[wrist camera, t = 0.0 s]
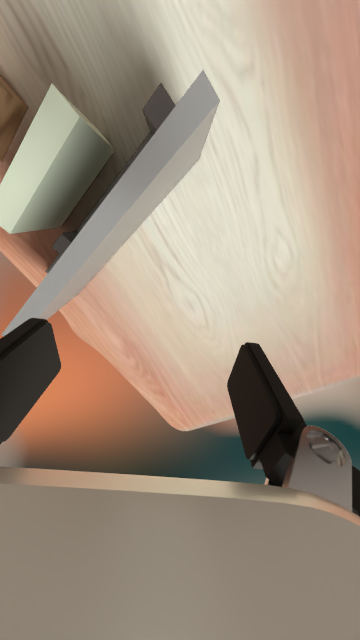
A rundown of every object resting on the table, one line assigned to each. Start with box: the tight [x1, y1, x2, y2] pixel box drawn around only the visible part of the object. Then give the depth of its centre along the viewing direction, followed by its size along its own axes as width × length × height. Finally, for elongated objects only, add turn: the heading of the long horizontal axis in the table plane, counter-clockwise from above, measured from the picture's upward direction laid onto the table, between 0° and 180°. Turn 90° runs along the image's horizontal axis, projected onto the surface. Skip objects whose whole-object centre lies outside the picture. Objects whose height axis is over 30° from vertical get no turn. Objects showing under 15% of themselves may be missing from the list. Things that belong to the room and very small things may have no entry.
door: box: [0, 84, 115, 234], centre depth 26 cm, size 16×3×12 cm, turn 132°
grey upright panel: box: [2, 70, 220, 336], centre depth 26 cm, size 34×7×18 cm, turn 132°
